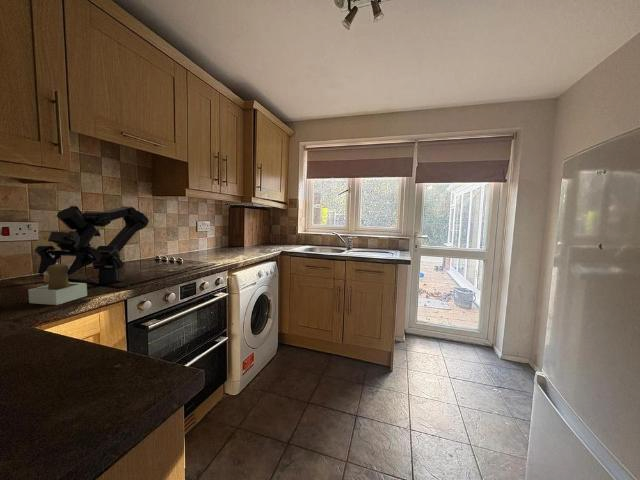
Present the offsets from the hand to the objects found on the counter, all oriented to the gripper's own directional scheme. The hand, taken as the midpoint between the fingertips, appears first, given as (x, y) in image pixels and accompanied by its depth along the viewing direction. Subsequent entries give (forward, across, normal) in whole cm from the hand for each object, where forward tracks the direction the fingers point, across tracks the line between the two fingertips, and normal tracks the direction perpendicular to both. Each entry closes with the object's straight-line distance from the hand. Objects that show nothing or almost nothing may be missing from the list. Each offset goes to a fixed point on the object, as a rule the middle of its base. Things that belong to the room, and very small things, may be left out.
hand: (54, 273), depth 88 cm
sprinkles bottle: (-10, -24, +24) cm, 35 cm away
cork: (+5, 0, +7) cm, 8 cm away
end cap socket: (+6, 0, +7) cm, 9 cm away
